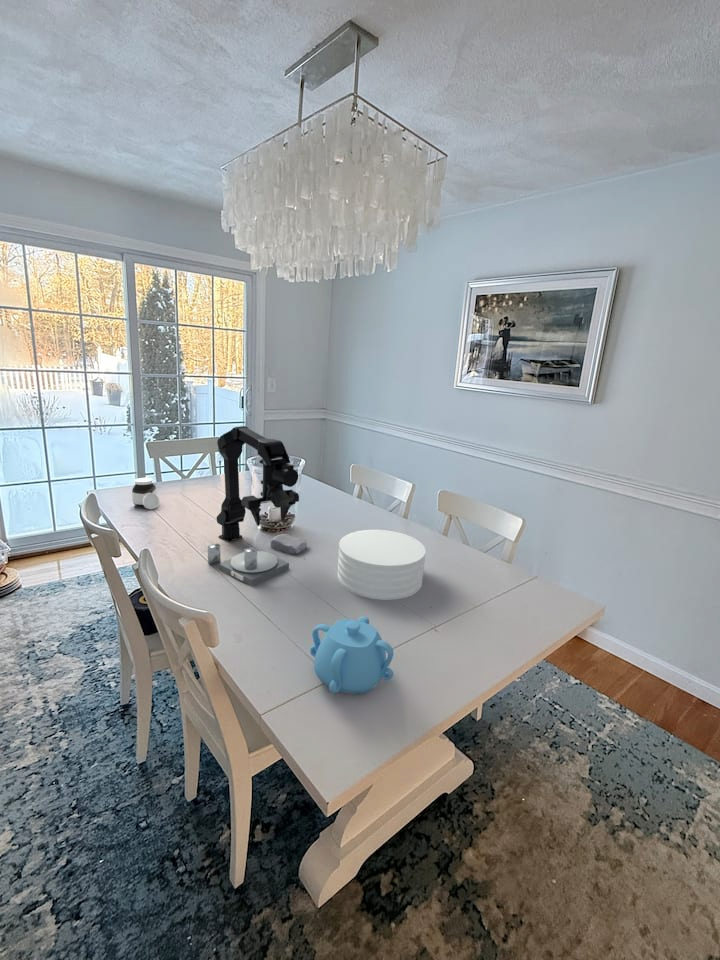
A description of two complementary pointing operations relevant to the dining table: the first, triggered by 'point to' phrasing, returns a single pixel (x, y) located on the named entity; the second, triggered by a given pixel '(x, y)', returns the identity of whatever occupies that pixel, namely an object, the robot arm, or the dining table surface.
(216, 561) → the cylinder
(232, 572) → the scale
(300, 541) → the stone block
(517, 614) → the dining table surface
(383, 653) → the decorative pot
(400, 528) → the dining table surface
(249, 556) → the cylinder
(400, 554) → the plate stack
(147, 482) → the spread jar
